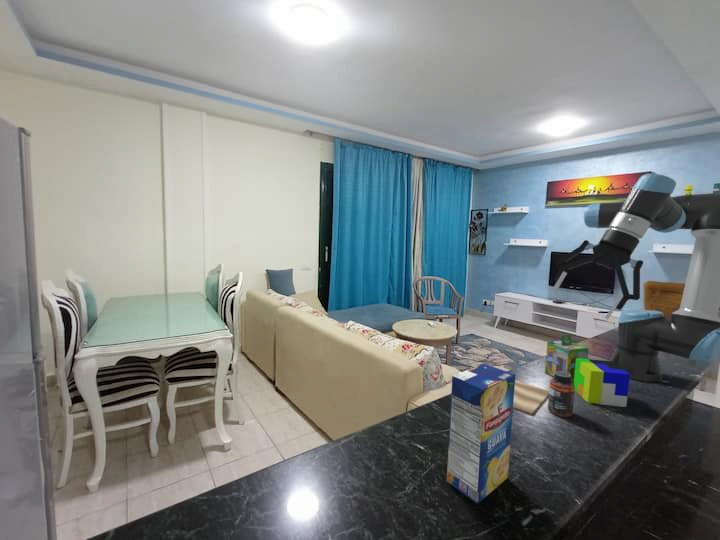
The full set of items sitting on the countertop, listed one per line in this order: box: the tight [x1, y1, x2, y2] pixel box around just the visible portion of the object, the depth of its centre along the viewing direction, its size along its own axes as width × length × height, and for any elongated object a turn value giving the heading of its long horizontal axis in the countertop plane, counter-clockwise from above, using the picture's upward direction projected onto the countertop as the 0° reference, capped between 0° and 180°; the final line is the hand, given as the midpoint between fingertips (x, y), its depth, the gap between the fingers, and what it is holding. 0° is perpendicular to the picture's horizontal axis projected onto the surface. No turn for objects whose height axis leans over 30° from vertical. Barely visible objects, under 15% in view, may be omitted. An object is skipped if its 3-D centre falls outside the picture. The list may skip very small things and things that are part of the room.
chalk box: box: [544, 333, 589, 383], centre depth 115 cm, size 9×9×15 cm
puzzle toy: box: [573, 358, 630, 408], centre depth 101 cm, size 10×10×10 cm
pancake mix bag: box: [642, 280, 686, 318], centre depth 159 cm, size 7×19×28 cm, turn 31°
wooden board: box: [513, 379, 549, 416], centre depth 101 cm, size 18×12×1 cm, turn 136°
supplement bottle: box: [547, 371, 576, 418], centre depth 91 cm, size 6×6×11 cm
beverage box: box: [446, 363, 516, 505], centre depth 65 cm, size 7×11×22 cm, turn 128°
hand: (578, 305), depth 89 cm, fingers open, 13 cm apart
